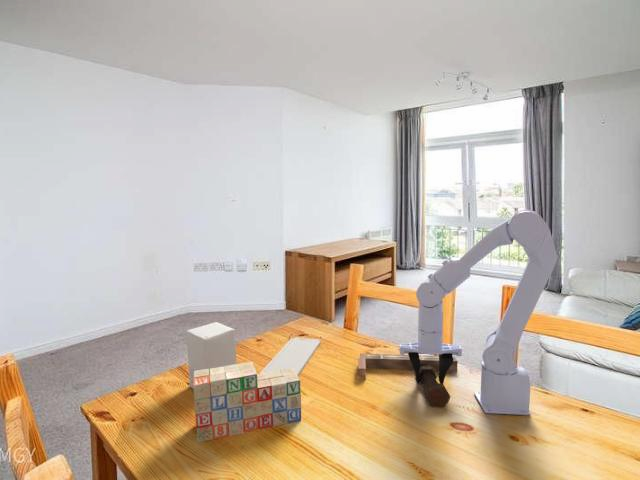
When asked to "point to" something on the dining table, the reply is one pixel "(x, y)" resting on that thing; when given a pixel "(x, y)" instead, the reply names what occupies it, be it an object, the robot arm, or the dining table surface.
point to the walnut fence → (397, 363)
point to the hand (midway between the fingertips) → (429, 381)
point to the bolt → (433, 387)
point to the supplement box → (210, 348)
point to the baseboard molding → (293, 355)
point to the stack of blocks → (244, 400)
